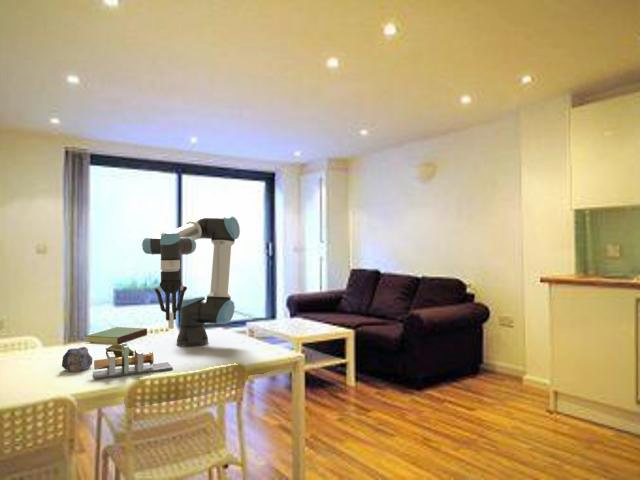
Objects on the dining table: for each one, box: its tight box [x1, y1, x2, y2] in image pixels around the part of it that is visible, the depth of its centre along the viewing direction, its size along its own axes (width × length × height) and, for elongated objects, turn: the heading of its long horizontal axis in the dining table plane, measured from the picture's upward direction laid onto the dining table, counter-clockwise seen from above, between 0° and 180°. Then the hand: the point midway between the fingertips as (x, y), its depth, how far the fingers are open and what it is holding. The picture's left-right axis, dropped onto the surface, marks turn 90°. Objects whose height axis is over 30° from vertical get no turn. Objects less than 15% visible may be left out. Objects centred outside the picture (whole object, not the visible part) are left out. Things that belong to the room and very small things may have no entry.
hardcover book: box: [86, 326, 148, 345], centre depth 242 cm, size 25×19×4 cm
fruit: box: [105, 344, 135, 358], centre depth 198 cm, size 11×12×7 cm
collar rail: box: [92, 342, 173, 381], centre depth 180 cm, size 9×28×11 cm, turn 120°
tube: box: [93, 351, 155, 371], centre depth 178 cm, size 5×21×5 cm, turn 120°
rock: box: [61, 346, 93, 373], centre depth 183 cm, size 11×10×10 cm
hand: (171, 327), depth 187 cm, fingers closed
